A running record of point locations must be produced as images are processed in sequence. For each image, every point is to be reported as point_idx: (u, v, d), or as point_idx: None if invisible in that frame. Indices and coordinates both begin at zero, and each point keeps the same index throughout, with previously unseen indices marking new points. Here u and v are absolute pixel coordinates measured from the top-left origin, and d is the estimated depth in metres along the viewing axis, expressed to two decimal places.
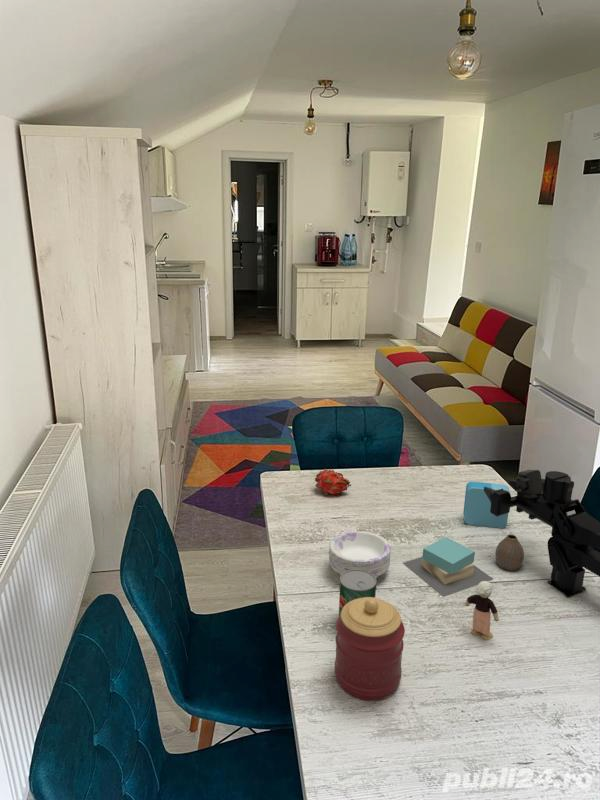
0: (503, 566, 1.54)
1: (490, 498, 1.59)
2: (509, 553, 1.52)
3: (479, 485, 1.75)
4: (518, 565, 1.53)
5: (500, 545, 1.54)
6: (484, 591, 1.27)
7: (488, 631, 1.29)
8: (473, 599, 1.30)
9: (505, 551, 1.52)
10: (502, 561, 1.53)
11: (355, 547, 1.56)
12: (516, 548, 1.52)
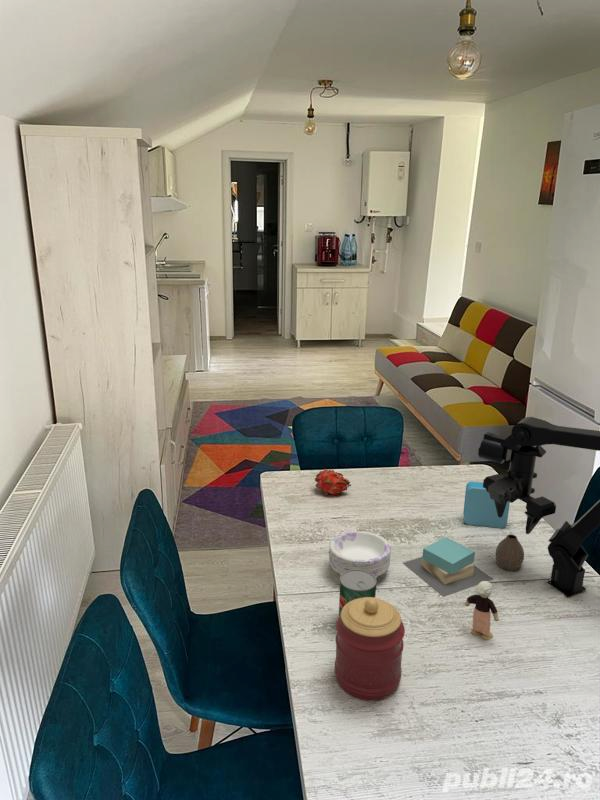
0: (503, 566, 1.54)
1: (536, 521, 1.47)
2: (509, 553, 1.52)
3: (479, 485, 1.75)
4: (518, 565, 1.53)
5: (500, 545, 1.54)
6: (484, 590, 1.27)
7: (488, 631, 1.29)
8: (472, 599, 1.30)
9: (505, 551, 1.52)
10: (502, 561, 1.53)
11: (356, 547, 1.56)
12: (516, 548, 1.52)
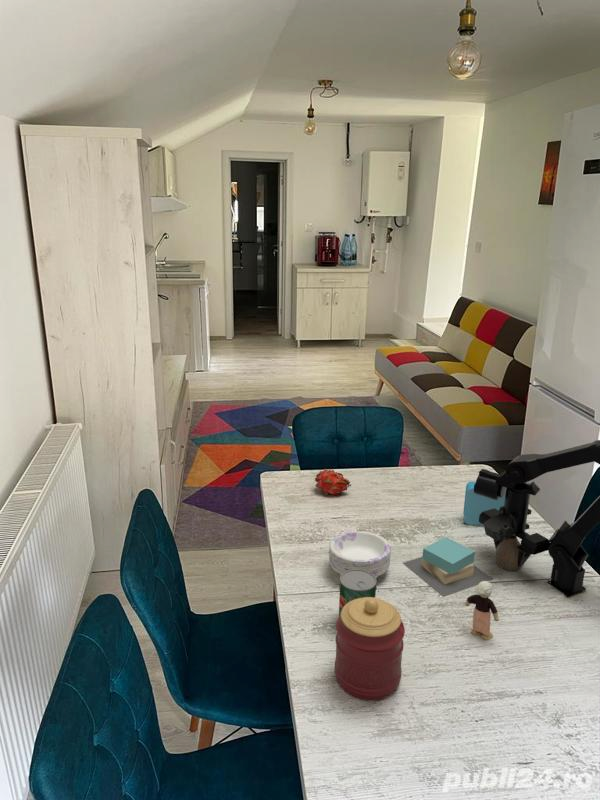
0: (503, 566, 1.54)
1: (528, 555, 1.51)
2: (509, 553, 1.52)
3: None
4: None
5: (500, 545, 1.54)
6: (484, 590, 1.27)
7: (488, 631, 1.29)
8: (473, 599, 1.30)
9: (505, 551, 1.52)
10: (502, 561, 1.53)
11: (356, 547, 1.56)
12: (516, 548, 1.52)
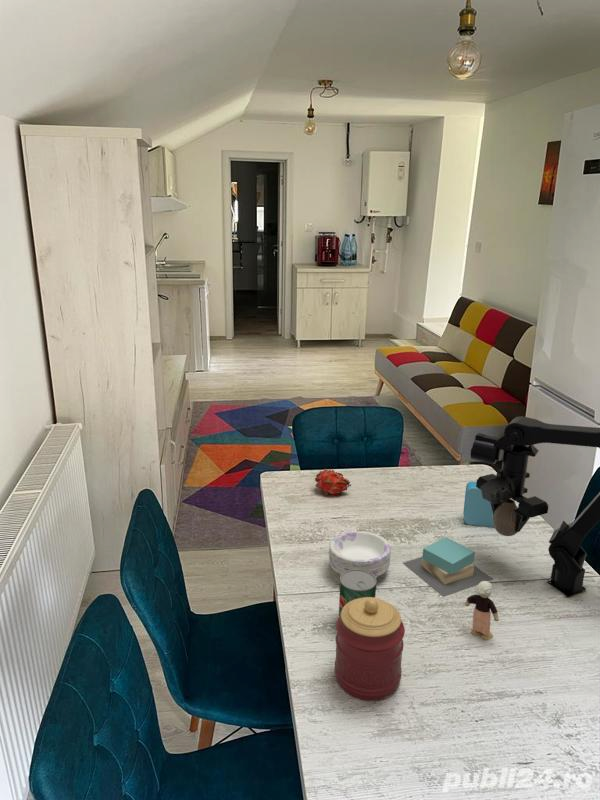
0: (500, 531, 1.50)
1: (526, 519, 1.48)
2: (507, 517, 1.49)
3: None
4: None
5: (498, 510, 1.51)
6: (484, 590, 1.27)
7: (488, 631, 1.29)
8: (473, 599, 1.30)
9: (503, 516, 1.49)
10: (499, 526, 1.50)
11: (355, 547, 1.56)
12: (514, 512, 1.49)
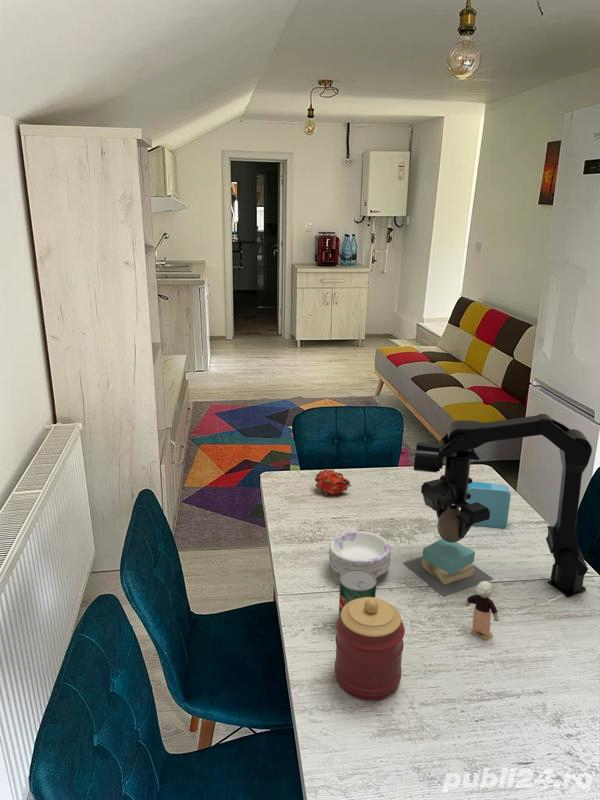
0: (444, 537, 1.48)
1: (469, 525, 1.45)
2: (450, 523, 1.46)
3: (479, 485, 1.75)
4: None
5: (441, 516, 1.48)
6: (484, 590, 1.27)
7: (488, 631, 1.29)
8: (473, 599, 1.30)
9: (446, 522, 1.47)
10: (443, 532, 1.47)
11: (355, 547, 1.56)
12: None
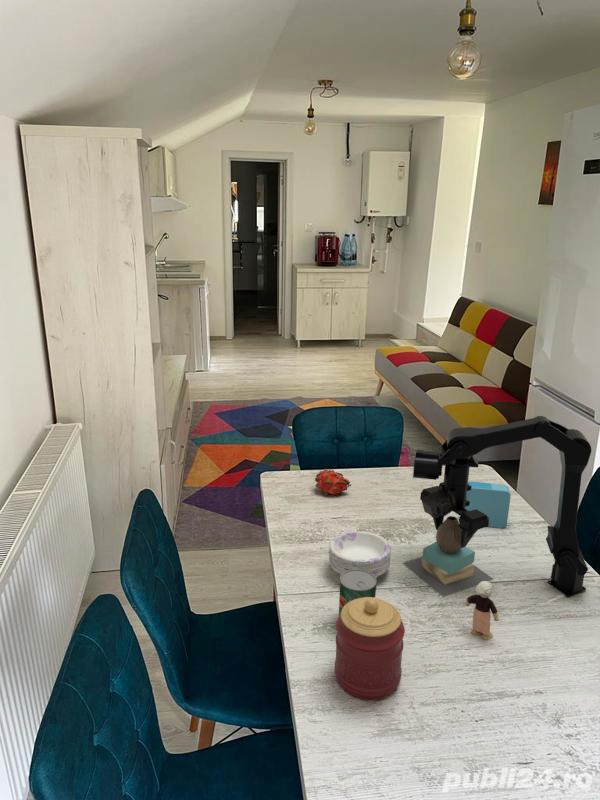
0: (443, 549, 1.49)
1: (471, 534, 1.45)
2: (449, 535, 1.47)
3: (479, 485, 1.75)
4: (458, 547, 1.48)
5: (440, 527, 1.49)
6: (484, 590, 1.27)
7: (488, 631, 1.29)
8: (473, 599, 1.30)
9: (445, 533, 1.47)
10: (442, 544, 1.48)
11: (355, 547, 1.56)
12: (456, 530, 1.47)
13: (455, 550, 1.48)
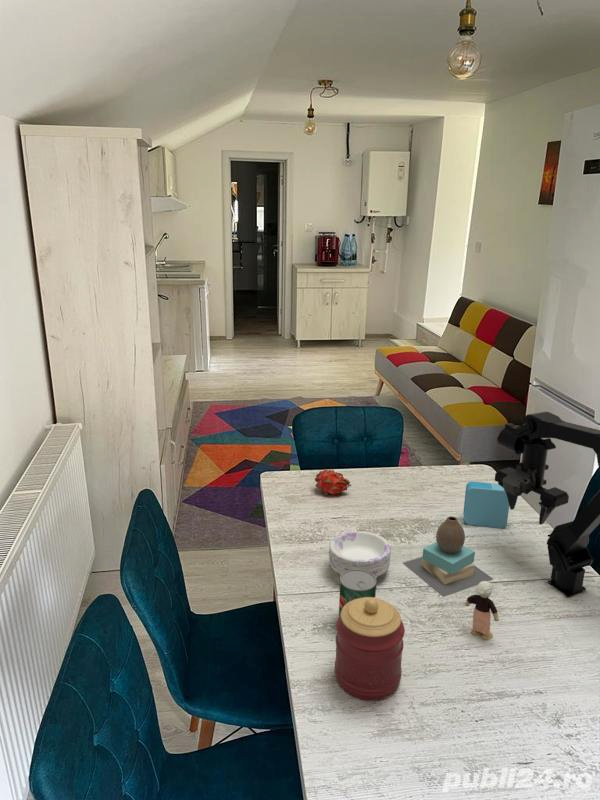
0: (443, 549, 1.49)
1: (549, 511, 1.52)
2: (449, 535, 1.47)
3: (479, 485, 1.75)
4: (458, 548, 1.48)
5: (440, 527, 1.49)
6: (484, 590, 1.27)
7: (488, 631, 1.29)
8: (472, 599, 1.30)
9: (445, 533, 1.47)
10: (442, 544, 1.48)
11: (355, 547, 1.56)
12: (456, 530, 1.47)
13: (455, 550, 1.48)
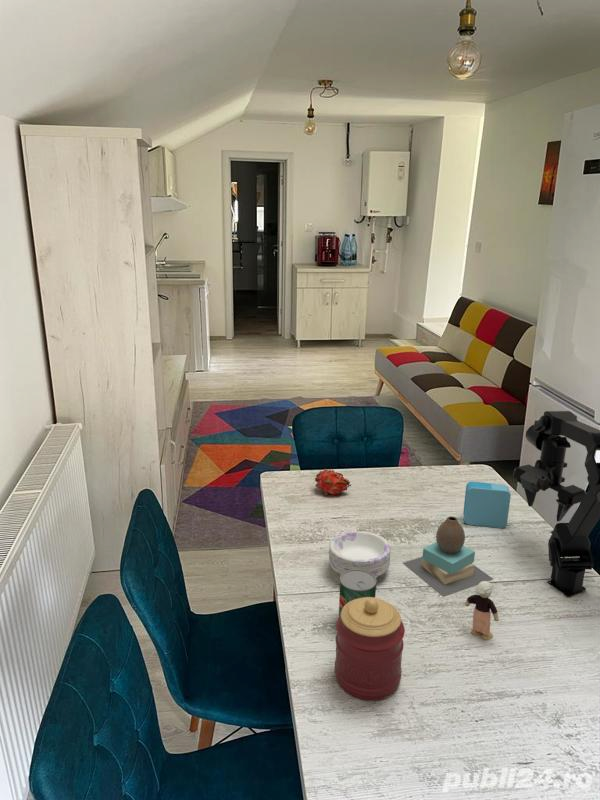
0: (443, 549, 1.49)
1: (567, 509, 1.53)
2: (449, 535, 1.47)
3: (479, 485, 1.75)
4: (458, 548, 1.48)
5: (440, 527, 1.49)
6: (484, 591, 1.27)
7: (488, 631, 1.29)
8: (473, 599, 1.30)
9: (445, 533, 1.47)
10: (442, 544, 1.48)
11: (355, 547, 1.56)
12: (456, 530, 1.47)
13: (455, 550, 1.48)
